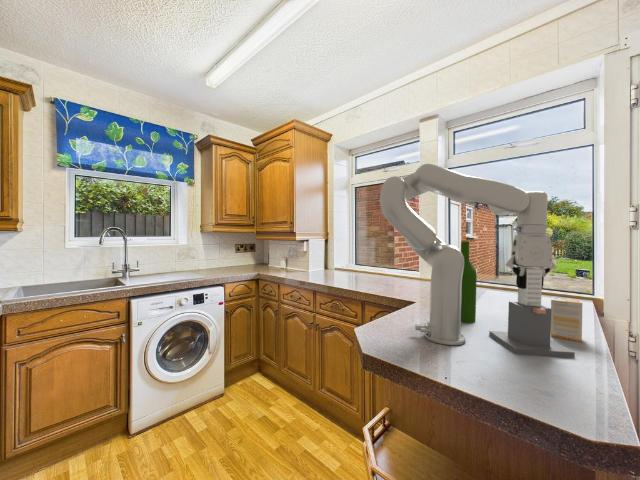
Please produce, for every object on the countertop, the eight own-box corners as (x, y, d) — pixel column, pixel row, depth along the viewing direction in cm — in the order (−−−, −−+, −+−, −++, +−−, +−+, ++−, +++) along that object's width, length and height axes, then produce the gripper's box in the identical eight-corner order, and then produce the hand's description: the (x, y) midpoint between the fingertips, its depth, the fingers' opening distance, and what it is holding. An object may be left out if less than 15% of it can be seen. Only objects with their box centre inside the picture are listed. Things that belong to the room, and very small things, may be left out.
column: (524, 327, 89) (526, 266, 88) (515, 322, 94) (516, 264, 94) (542, 328, 88) (544, 266, 88) (532, 323, 93) (533, 264, 93)
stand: (515, 354, 84) (516, 310, 84) (489, 335, 100) (490, 298, 100) (574, 357, 82) (576, 312, 82) (538, 337, 98) (539, 300, 98)
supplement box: (581, 338, 98) (582, 300, 98) (581, 342, 95) (583, 303, 94) (550, 332, 104) (551, 296, 103) (549, 336, 100) (551, 299, 100)
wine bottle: (479, 321, 117) (482, 241, 116) (467, 324, 112) (469, 241, 111) (459, 315, 124) (461, 241, 124) (446, 318, 120) (448, 241, 119)
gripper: (509, 230, 88) (507, 289, 88) (569, 231, 86) (567, 291, 86) (497, 230, 95) (495, 285, 95) (551, 231, 93) (549, 287, 94)
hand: (529, 287), depth 91 cm, fingers closed on column, 4 cm apart
